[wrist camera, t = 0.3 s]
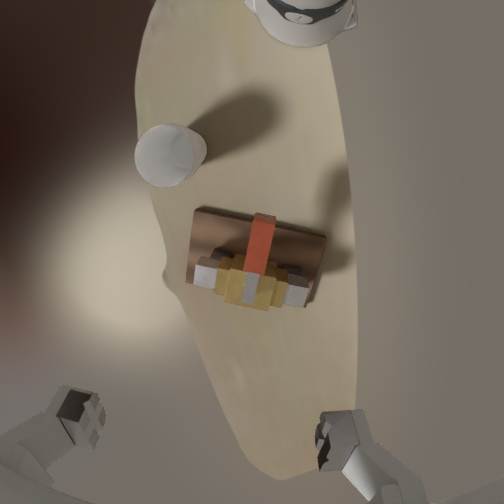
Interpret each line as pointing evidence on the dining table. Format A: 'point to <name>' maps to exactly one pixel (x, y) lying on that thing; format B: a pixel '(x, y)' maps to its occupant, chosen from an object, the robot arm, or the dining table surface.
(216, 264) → the valve
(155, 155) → the cup
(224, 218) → the board
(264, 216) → the lever
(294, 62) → the dining table surface
